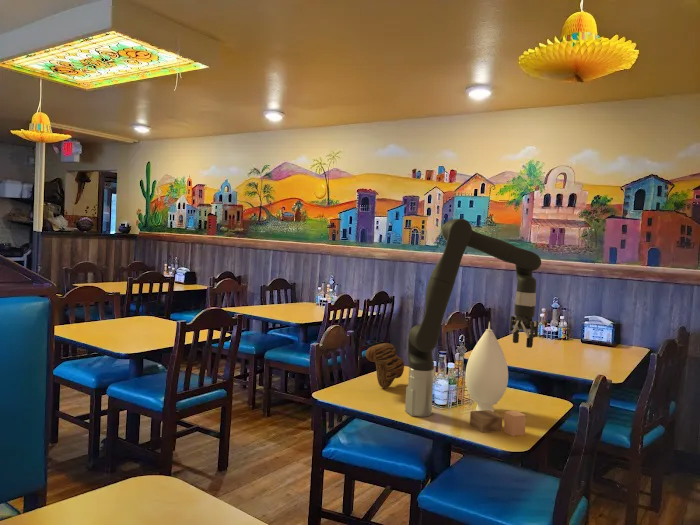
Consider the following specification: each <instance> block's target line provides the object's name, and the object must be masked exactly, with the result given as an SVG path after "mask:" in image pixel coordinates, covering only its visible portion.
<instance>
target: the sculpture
mask: <svg viewBox="0 0 700 525" xmlns="http://www.w3.org/2000/svg"><path fill="white" fill-rule="evenodd" d="M364 354H365V357H366V359H367V360H368V361H369V362H373V363H375V367H376V368H375V371H376V378H377V383H378V385H379V386H380V388H382V389H388V388H390V387H391V385H392V384H393V382H394V381H395V379H399V378H401V377H402V376H403V373H404V370H405V363H404V360H403V359H402V357H399V356H398V354H397V350H396V347H395V346H394V345H393V344H391V343H388V342H385V343H378V344H374V345H372V346H369V347H368V348H367V349H366V351H365V353H364Z"/></svg>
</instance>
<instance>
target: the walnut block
mask: <svg viewBox="0 0 700 525" xmlns="http://www.w3.org/2000/svg"><path fill="white" fill-rule="evenodd" d="M469 413H470V414H469V415H470V416H469V425H470V426H472V427H473V428H474V429H476V430H477V431H479V432H481V433H489V432H490V433H491V432H492V431H493V432H501V431H503V417H502V416H501V415H499V414H498V413H496V412H495V411H494V412H492V411H491V410H484V411H476V410H474V411H471V410H470V412H469ZM493 432H492V433H493Z"/></svg>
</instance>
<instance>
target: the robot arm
mask: <svg viewBox="0 0 700 525" xmlns="http://www.w3.org/2000/svg"><path fill="white" fill-rule="evenodd" d="M441 233H442V237H443V238H444V239H445V240H446V244H445V247H444V250H443V253H442V255H441V257H440V259H438V262H436V265H435V266H434V268H433V269H432V272H431V275H430V277H429V280H428V284H427V287H426V293H425V310H424V315H423V317H422V321H421V323H420V324H417V325H414V326H413V327H412V328H411V329H410V330H409V334H408V339H407V342H408V343H407V358H408V362H409V363H408V364H409V365H408V382H407V383H408V384H407V385H408V386H406V387H405V401H404V402H405V404H404V405H405V406H404V408H405V409H404V411H405V412H406V414H408V415H409V416H411V417H420V418H421V417H423V418H425V417H429V416H431V415H432V414H433V413H432V412H433V411H432V410H433V395H434V394H433V393H434V392H433V391H434V371H435V369H434V368H435V362H434V359H433V356H432V355H433V354H432V351H433V350H434V349H436V347H437V345H438V342H439V339H440V335H441V329H442V323H443V320H444V316H445V313H446V310H447V307H448V304H449V301H450V297H452V296H451V295H452V292H453V289H454V287H455V283H456V279H457V277H458V276H457V275H458V272H459V269H460V267H461V262H462V258H463V257H464V253H465V251H466V249H467V247H468V248H471V249H474V250H477V251H479V252H483V253H484V254H486V255H488V256H491V257H493V258H496V259H498V260H500V261H503V262H504V263H509V264H513V265H515V274H516V278H517V283H516V284H517V285H516V294H515V301H514V315H511V316H510V321H509V322H510V323H509V331H510V332H512V343H514V344H518V343H519V342H520V340H519V339H520V332H521V330H522V331H523V332H524V333H525V335H526V346H525V347H526V348H529V349H531V348H532V347H533V346H534V345H533V342H534V338H537V337H538V336H539V335H538V334H539V333H538V332H539V322H538V321H537V320H533V317H535V315H536V304H537V303H536V302H537V300H536V299H537V297H536V296H537V295H536V292H537V280H536V278H535V277H534V276H533V271H537V270H538V269H540V268H541V266H542V259H541V257H540V256H539V255H538V254H537V253H536V252H534V251H531V250H528V249H524V248H520V247H518V246H515V245H514V244H511V243H509V242H507V241H504V240H501V239H499V238H496V237H492V236H489V235H486V234H482V233H480V232H477V231H475V230H473V229H472V225H471V223H470V222H469V221H468V220H467V219H464V218H454V219H453V218H452V219H450V220H448V221H446V222H445V223H444V224H443V225H442V229H441Z"/></svg>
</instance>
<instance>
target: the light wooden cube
mask: <svg viewBox="0 0 700 525" xmlns="http://www.w3.org/2000/svg"><path fill="white" fill-rule="evenodd" d="M526 417H527V415H526V414H524V413H522V412H520V411H518V410H511V411H508V410H507V411H504V422H503V424H504V425H503V432H504V431H505V432H504V433H506V434H508V435H509V434H510V435H509V436H511V435H512V436H511V437H516V436H515V435H523V436H526Z"/></svg>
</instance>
